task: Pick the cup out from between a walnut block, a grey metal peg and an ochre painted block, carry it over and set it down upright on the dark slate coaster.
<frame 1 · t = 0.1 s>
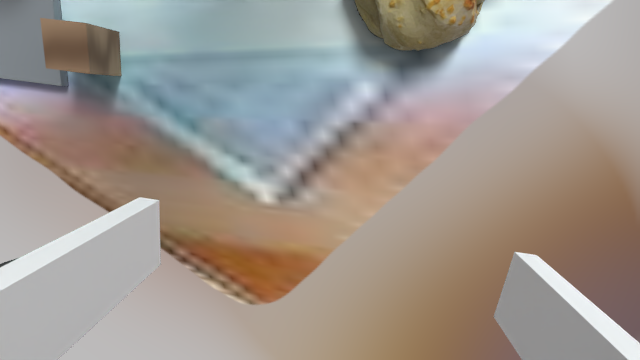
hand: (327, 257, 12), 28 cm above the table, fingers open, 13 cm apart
coaster: (11, 23, 38), on the table
walnut block: (100, 52, 38), on the table
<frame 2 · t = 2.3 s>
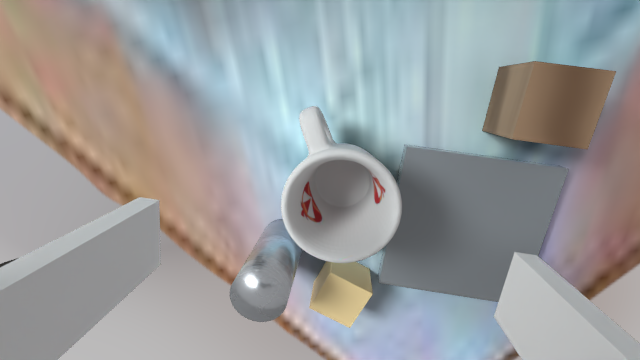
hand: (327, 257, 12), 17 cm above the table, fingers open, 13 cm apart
coaster: (462, 225, 28), on the table
cup: (336, 163, 28), on the table
grey peg: (283, 238, 30), on the table
ochre block: (341, 275, 31), on the table
walnut block: (521, 103, 25), on the table
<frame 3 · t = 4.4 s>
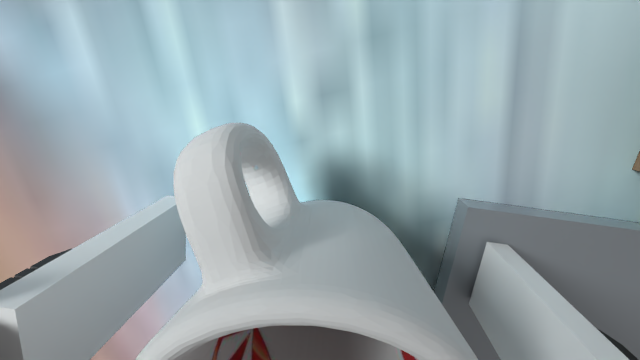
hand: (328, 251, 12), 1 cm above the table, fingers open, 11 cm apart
coaster: (569, 354, 14), on the table
cup: (313, 233, 14), on the table
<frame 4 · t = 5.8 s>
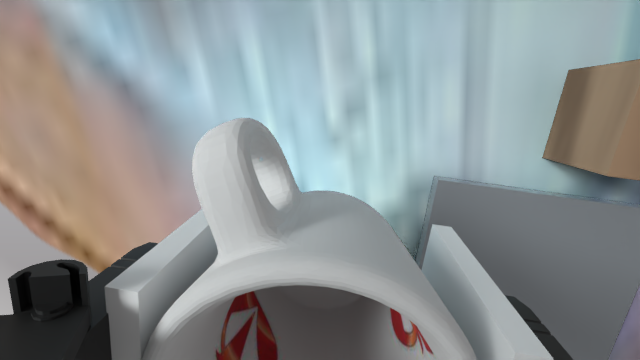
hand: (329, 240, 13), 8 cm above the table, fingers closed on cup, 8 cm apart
coaster: (512, 284, 21), on the table
cup: (312, 222, 15), point 6 cm above the table, touching gripper
walnut block: (599, 120, 18), on the table
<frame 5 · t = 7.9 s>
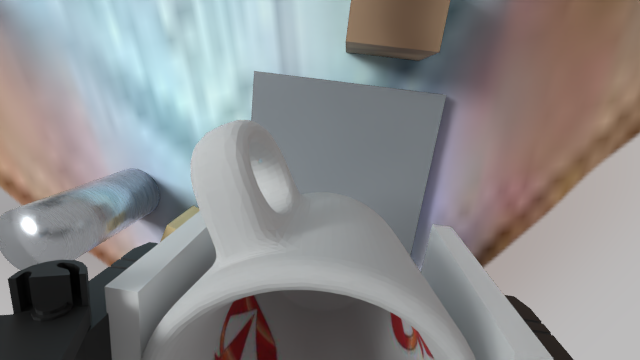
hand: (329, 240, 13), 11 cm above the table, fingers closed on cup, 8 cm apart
coaster: (336, 172, 24), on the table
cup: (312, 224, 14), point 10 cm above the table, touching gripper
grey peg: (135, 192, 26), on the table
ochre block: (207, 235, 27), on the table
walnut block: (388, 16, 21), on the table
when the fingers open (2 cm above the table, at t = 10.3 s): cup stays where it is, resting on coaster.
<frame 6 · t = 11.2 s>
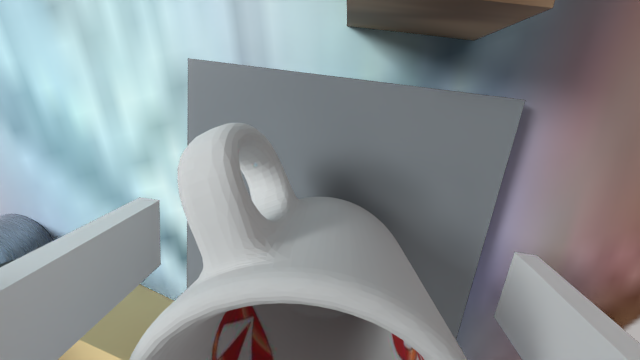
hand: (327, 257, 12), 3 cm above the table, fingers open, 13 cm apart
coaster: (331, 223, 15), on the table
cup: (312, 229, 14), point 1 cm above the table, touching coaster
grey peg: (22, 249, 17), on the table
ochre block: (134, 313, 17), on the table
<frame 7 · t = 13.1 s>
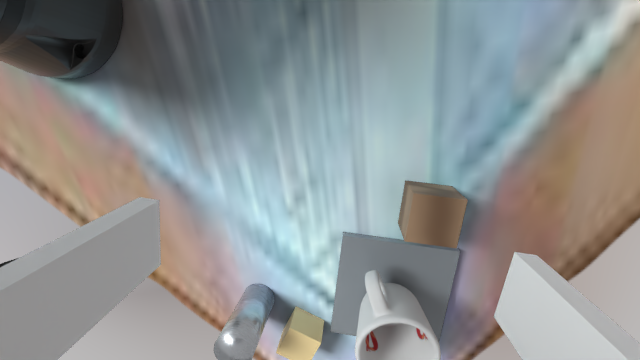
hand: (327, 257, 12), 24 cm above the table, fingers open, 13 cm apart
coaster: (390, 289, 38), on the table
cup: (384, 292, 37), point 1 cm above the table, touching coaster
grey peg: (259, 297, 40), on the table
ochre block: (303, 324, 41), on the table
walnut block: (424, 204, 35), on the table
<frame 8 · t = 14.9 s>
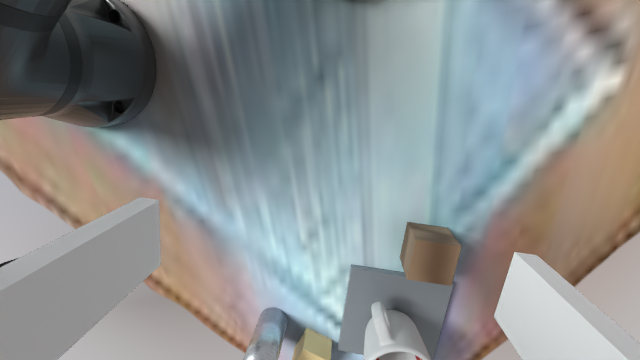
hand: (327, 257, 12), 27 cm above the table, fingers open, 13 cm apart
coaster: (391, 313, 43), on the table
cup: (386, 317, 42), point 1 cm above the table, touching coaster
grey peg: (273, 319, 45), on the table
ochre block: (313, 343, 45), on the table
walnut block: (423, 242, 40), on the table
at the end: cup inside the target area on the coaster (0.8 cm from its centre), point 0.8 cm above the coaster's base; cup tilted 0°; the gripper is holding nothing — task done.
